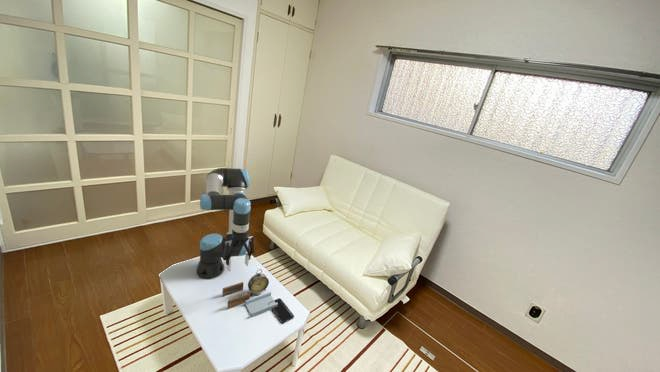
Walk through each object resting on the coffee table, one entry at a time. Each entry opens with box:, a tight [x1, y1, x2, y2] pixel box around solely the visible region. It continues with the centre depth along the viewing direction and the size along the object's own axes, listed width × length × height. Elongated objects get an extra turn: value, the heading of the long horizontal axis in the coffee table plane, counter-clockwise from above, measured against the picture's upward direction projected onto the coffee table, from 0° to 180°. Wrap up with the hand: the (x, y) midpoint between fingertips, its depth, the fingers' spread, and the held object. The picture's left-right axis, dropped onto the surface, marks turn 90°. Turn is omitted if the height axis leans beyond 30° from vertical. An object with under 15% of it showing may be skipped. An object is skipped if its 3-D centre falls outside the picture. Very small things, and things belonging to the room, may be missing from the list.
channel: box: [221, 281, 251, 310], centre depth 144 cm, size 10×11×5 cm
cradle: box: [244, 291, 278, 318], centre depth 143 cm, size 10×14×2 cm, turn 128°
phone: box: [268, 297, 295, 324], centre depth 142 cm, size 8×1×15 cm
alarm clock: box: [247, 268, 270, 297], centre depth 149 cm, size 11×5×16 cm, turn 128°
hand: (237, 266), depth 137 cm, fingers open, 8 cm apart
